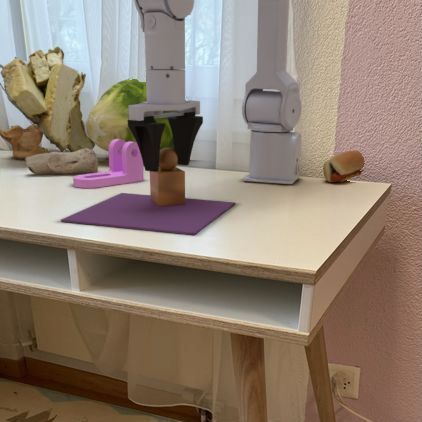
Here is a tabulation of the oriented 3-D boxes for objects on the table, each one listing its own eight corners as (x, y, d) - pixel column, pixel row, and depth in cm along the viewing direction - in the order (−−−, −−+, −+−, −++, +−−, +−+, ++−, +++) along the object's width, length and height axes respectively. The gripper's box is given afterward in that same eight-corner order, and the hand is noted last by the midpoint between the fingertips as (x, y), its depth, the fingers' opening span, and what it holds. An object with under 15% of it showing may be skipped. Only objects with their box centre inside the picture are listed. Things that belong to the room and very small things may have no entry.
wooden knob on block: (176, 198, 99) (175, 145, 95) (185, 204, 95) (185, 149, 91) (150, 200, 97) (148, 146, 93) (158, 206, 94) (157, 150, 90)
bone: (47, 154, 143) (44, 116, 139) (64, 159, 136) (62, 119, 132) (-4, 156, 136) (-8, 116, 132) (12, 162, 129) (8, 119, 125)
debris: (92, 153, 149) (132, 115, 145) (73, 175, 123) (122, 130, 119) (13, 62, 139) (54, 19, 135) (-26, 64, 113) (24, 12, 109)
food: (365, 143, 121) (375, 166, 121) (342, 158, 124) (352, 180, 125) (337, 151, 110) (349, 176, 111) (313, 166, 114) (325, 190, 115)
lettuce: (91, 184, 132) (60, 110, 131) (176, 167, 145) (148, 100, 144) (122, 145, 117) (87, 62, 117) (214, 130, 130) (183, 55, 129)
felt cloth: (235, 204, 97) (235, 202, 97) (194, 235, 80) (194, 232, 80) (121, 194, 102) (121, 192, 102) (61, 221, 85) (60, 219, 85)
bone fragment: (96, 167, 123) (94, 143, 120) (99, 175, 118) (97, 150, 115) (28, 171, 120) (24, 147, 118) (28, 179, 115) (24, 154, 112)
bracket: (125, 176, 117) (124, 138, 114) (143, 180, 114) (142, 141, 110) (67, 184, 109) (64, 143, 106) (84, 189, 106) (81, 147, 102)
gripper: (174, 68, 94) (175, 159, 101) (110, 69, 84) (116, 171, 90) (211, 69, 91) (210, 163, 97) (149, 70, 80) (152, 176, 87)
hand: (167, 167), depth 94 cm, fingers open, 7 cm apart
